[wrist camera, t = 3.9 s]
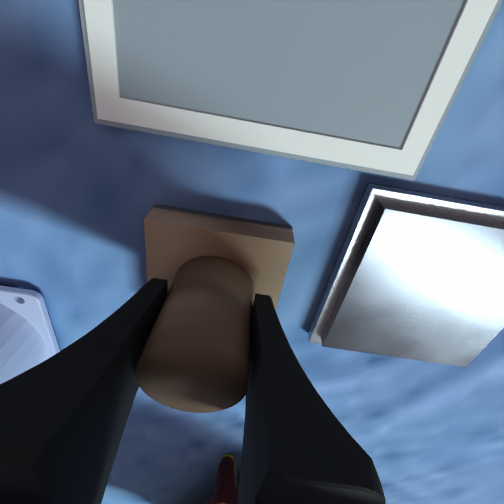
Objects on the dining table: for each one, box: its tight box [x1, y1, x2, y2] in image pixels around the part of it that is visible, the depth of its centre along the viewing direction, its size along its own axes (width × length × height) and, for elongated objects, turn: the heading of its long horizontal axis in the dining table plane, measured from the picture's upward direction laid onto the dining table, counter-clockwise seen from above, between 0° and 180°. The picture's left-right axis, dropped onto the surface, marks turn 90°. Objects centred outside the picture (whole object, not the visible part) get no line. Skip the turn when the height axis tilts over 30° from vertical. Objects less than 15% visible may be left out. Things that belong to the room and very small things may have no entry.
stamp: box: [135, 204, 294, 413], centre depth 12 cm, size 6×6×6 cm
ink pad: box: [308, 183, 504, 367], centre depth 14 cm, size 9×9×1 cm
